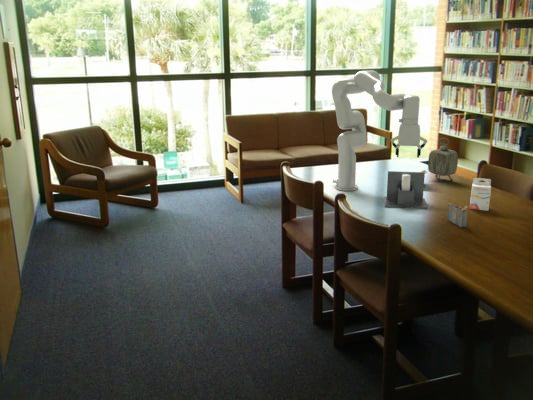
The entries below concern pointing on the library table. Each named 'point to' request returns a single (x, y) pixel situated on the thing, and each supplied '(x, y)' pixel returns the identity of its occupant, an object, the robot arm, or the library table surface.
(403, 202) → the cup bracket
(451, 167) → the tabletop clock
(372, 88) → the robot arm
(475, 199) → the ink cartridge box
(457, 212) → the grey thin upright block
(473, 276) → the library table surface
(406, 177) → the off-white rounded cylinder
